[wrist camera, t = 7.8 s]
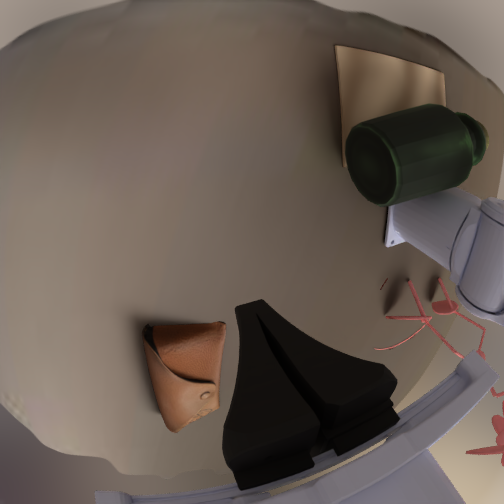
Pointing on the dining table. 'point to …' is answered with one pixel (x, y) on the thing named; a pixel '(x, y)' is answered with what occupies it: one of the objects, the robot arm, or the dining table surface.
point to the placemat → (381, 86)
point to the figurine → (447, 307)
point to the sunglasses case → (185, 369)
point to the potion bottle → (413, 153)
